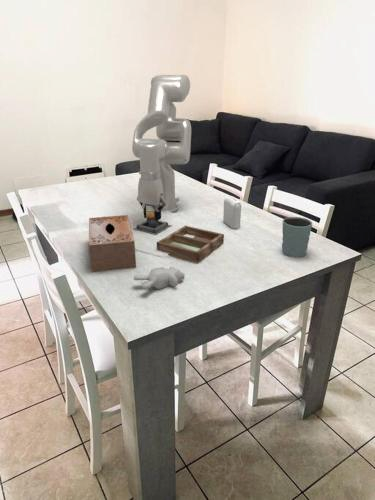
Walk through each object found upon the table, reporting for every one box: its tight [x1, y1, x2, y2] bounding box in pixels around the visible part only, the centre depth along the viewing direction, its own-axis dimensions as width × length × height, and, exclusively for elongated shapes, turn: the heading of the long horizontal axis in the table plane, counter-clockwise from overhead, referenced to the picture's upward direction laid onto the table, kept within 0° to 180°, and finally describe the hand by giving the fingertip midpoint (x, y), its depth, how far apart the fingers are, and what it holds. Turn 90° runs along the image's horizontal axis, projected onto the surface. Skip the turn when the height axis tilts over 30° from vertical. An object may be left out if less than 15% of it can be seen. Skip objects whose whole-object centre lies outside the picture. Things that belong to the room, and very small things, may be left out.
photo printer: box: [222, 195, 242, 230], centre depth 155 cm, size 10×4×12 cm, turn 20°
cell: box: [145, 204, 160, 227], centre depth 151 cm, size 5×5×10 cm
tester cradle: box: [132, 220, 173, 236], centre depth 153 cm, size 12×12×2 cm
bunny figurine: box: [133, 266, 186, 290], centre depth 112 cm, size 10×5×15 cm
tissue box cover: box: [88, 214, 137, 273], centre depth 131 cm, size 26×14×10 cm, turn 13°
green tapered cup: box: [281, 216, 313, 258], centre depth 131 cm, size 10×10×12 cm
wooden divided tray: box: [156, 225, 225, 264], centre depth 136 cm, size 20×17×4 cm
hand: (152, 218), depth 152 cm, fingers closed on cell, 5 cm apart
